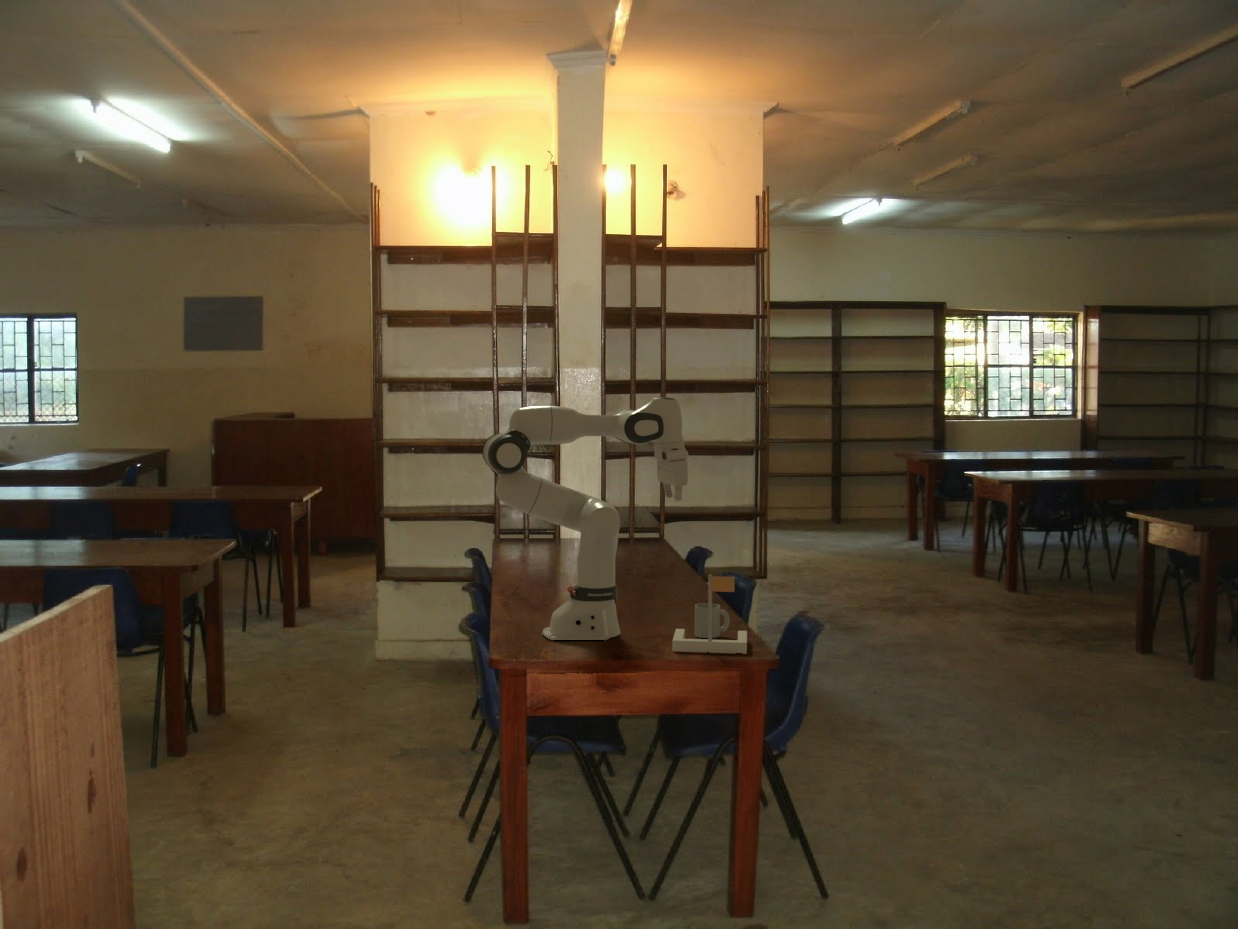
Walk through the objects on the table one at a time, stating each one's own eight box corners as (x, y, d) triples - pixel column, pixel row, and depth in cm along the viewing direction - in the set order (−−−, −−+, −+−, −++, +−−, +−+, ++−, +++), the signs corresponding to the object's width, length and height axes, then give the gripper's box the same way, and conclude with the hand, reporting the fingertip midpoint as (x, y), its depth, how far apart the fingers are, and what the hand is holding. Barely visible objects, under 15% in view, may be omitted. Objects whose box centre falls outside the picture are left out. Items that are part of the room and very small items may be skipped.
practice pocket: (675, 639, 306) (676, 565, 305) (746, 641, 304) (747, 567, 303) (672, 651, 292) (672, 574, 291) (746, 653, 290) (747, 576, 288)
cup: (693, 633, 314) (694, 603, 313) (728, 633, 314) (728, 603, 313) (695, 639, 307) (695, 608, 306) (730, 639, 307) (731, 608, 306)
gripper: (650, 451, 323) (654, 496, 325) (668, 455, 303) (672, 503, 305) (670, 449, 325) (674, 494, 326) (690, 452, 305) (694, 501, 306)
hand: (673, 499), depth 315 cm, fingers open, 8 cm apart
